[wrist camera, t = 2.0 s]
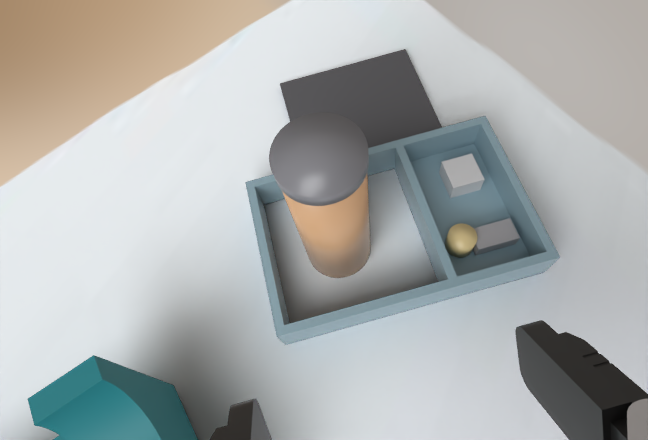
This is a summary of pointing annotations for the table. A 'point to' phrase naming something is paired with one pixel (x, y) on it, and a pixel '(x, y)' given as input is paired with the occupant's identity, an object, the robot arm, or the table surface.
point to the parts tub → (433, 224)
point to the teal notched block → (110, 405)
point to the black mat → (367, 97)
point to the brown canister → (326, 189)
